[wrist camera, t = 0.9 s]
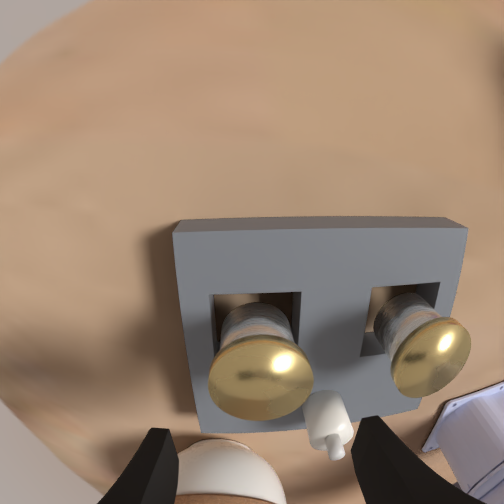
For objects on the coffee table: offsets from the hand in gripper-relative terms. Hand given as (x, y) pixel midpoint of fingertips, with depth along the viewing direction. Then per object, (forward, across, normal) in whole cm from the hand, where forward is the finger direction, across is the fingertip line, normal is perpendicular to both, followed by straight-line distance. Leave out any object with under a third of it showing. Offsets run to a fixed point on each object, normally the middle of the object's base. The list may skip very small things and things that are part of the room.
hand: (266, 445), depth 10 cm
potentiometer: (+7, -4, +6) cm, 10 cm away
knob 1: (+7, 0, 0) cm, 7 cm away
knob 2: (+7, -8, 0) cm, 11 cm away
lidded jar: (+10, +3, +16) cm, 19 cm away
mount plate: (+10, -4, +2) cm, 11 cm away
